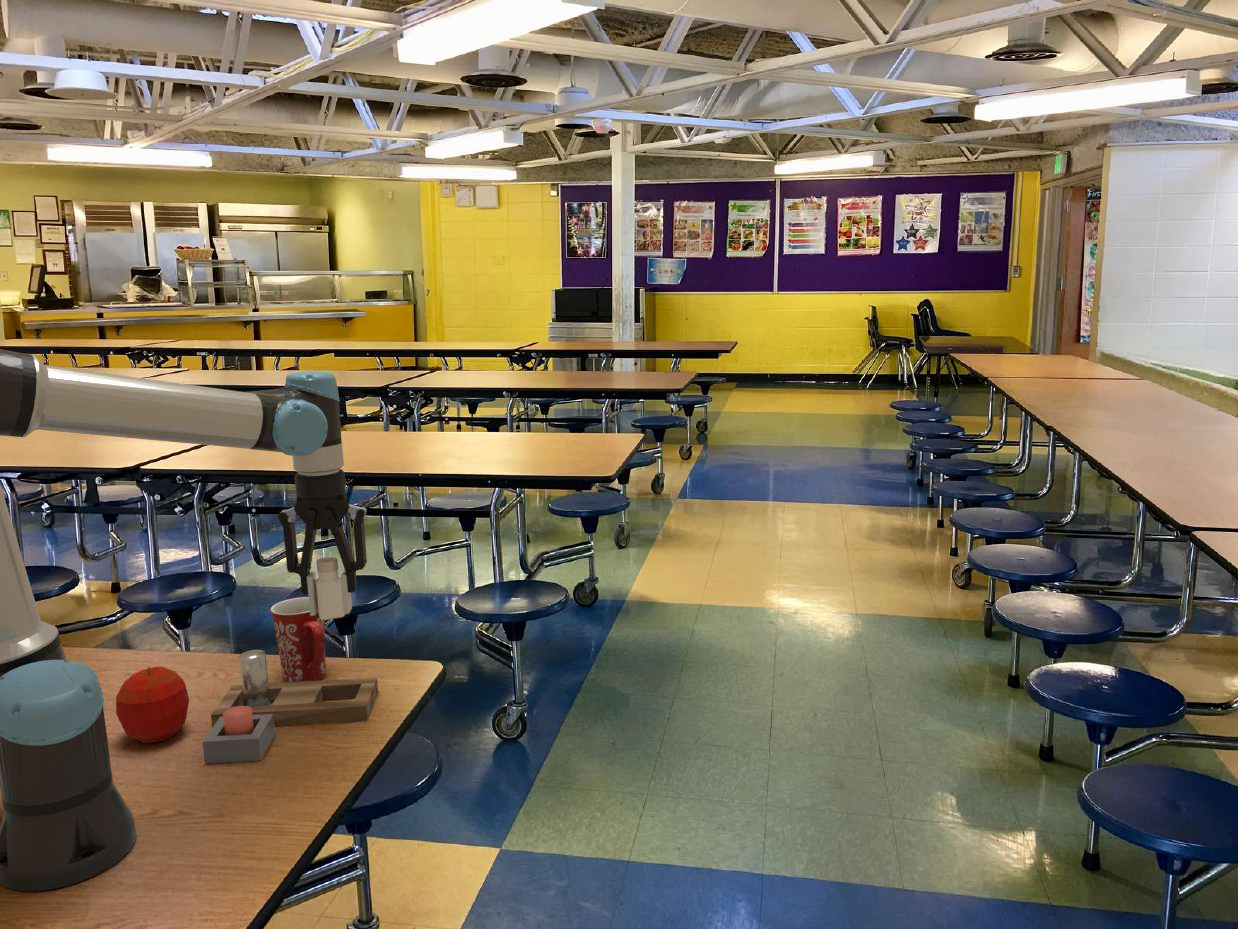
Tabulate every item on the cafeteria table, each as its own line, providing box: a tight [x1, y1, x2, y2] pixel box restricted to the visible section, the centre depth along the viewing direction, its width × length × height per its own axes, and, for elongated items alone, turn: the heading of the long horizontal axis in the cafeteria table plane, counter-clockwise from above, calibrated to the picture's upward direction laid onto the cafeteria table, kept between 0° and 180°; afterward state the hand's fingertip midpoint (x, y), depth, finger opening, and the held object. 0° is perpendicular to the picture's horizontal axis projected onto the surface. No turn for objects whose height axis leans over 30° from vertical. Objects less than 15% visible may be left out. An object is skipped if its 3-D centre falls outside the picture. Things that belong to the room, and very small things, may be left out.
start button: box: [223, 705, 254, 736], centre depth 142 cm, size 4×4×5 cm
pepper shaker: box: [315, 556, 346, 621], centre depth 152 cm, size 4×4×10 cm
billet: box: [238, 649, 272, 707], centre depth 154 cm, size 4×4×10 cm
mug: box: [270, 596, 327, 683], centre depth 166 cm, size 13×9×14 cm
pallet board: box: [210, 677, 379, 729], centre depth 155 cm, size 11×24×2 cm, turn 95°
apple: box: [115, 666, 190, 744], centre depth 146 cm, size 10×10×12 cm
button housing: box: [202, 714, 276, 765], centre depth 143 cm, size 8×8×4 cm
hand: (331, 611), depth 153 cm, fingers closed on pepper shaker, 5 cm apart
